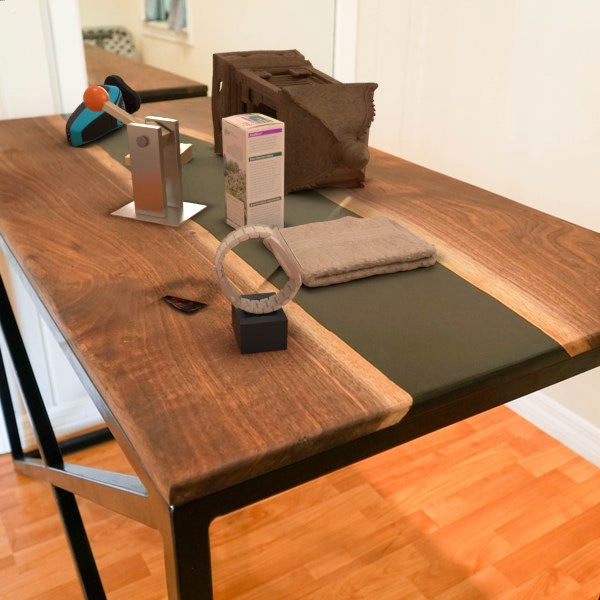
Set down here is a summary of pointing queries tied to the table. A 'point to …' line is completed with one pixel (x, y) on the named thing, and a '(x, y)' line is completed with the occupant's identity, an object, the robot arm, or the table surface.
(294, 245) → the washcloth
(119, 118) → the switch lever
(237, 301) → the watch
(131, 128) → the switch bracket
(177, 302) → the dark red faceted gem
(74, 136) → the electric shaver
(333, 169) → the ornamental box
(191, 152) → the control box
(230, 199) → the syrup box
